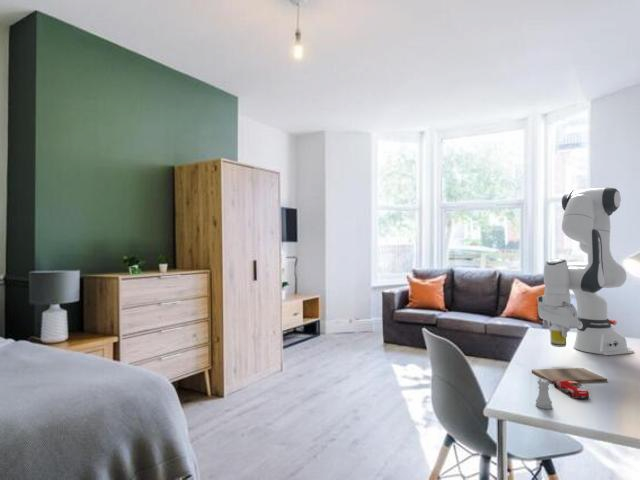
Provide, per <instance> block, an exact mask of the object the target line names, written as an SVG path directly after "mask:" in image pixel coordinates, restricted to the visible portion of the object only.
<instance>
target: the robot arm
mask: <svg viewBox="0 0 640 480" xmlns="http://www.w3.org/2000/svg"><path fill="white" fill-rule="evenodd" d="M621 198H622V196H621V194H620V191H619V190H618V189H617V188H615V187H591V188H590V187H589V188H586V189H578V190H571V191H567V192H565V193H564V195H562V198H561V206H562V209H563V211H564V213H563V217H562V221H561V230H562V232H563V233H564V235H565V236H566V237H567V238H569V239H571V240H573V241H574V242H575V241H576V242H579V245H578V246H579V248H580V250H581V251H582V252H584V253H586V254H587V261H572V262H567V260H566V259H563V258H553V259H552V258H551V259H549V260H547V261H545V263H544V268H543V284H544V291H543V293H544V294H542V295H539V296H537V297H536V300H537V309H538V310H537V312H538V317H539V318H540V319H541V320H544V321H547V325H548V328H549V329H550V327H551V326H553V325H552V321H553V322H555V323H556V324H558V325H561V326H562V332H560V336H562V337H566V338H567V337H568V332H569V330H570V329H573V330H574V329H577V330H576V336H575V341H574V344H573V348H574V350H578V351H581V352H586V353H590V354H591V353H593V354H599V355H603V356H614V355H623V354H624V355H625V354H633V353H635V350H634V349H633V348H631V347H628V344H627V339H626V338H625V336H624V335H623V334H621V333H620V332H618V331H617V330H615V329H614V328H613V327H612V325H614V326H616V325H617V321H616V320H615V319H609V318H608V303H607V301H606V300H605V298H604V297H602V296H600V295H599V294H597V292H599V291H600V290H602V289H613V288H620V287H622V286H623V285H624V284H625V283H626V281H627V272H626V270H625V267H624V266H622V265H621V264H619V263H618V262H617V261H616V260H615V259H614V257H613V255H612V253H611V247H610V246H611V245H610V241H611V239H610V238H611V218H610V217H611V216H612V215H613V213H614V212H616V211H617V210H618V209H619V208H620V205H621V201H622V200H621ZM571 291H572V292H573V294H574V297H575V300H576V307H575V306H574V304H572V303H571Z"/></svg>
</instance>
